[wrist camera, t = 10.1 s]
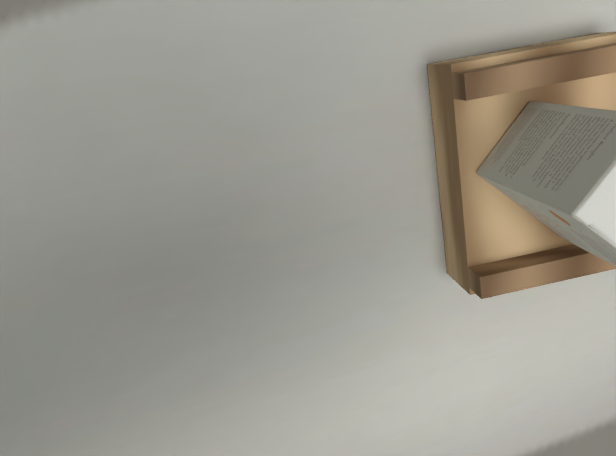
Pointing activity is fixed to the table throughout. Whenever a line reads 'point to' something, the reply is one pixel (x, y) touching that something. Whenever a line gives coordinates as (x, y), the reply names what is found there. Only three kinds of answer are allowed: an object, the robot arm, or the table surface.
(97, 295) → the table surface
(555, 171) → the small box
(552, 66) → the wooden tray
